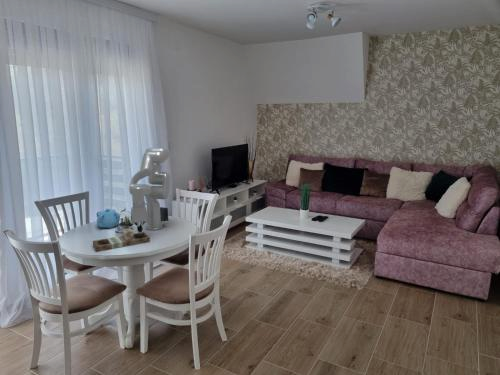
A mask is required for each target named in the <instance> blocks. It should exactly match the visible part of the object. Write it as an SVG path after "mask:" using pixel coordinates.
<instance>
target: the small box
mask: <svg viewBox="0 0 500 375" xmlns="http://www.w3.org/2000/svg"><path fill="white" fill-rule="evenodd" d="M160 217H161V221H164V222H165V221H167V222H168V221H169V208H168V207H162V206H160Z"/></svg>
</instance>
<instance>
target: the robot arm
mask: <svg viewBox="0 0 500 375" xmlns="http://www.w3.org/2000/svg"><path fill="white" fill-rule="evenodd" d="M169 156H170V151H169V149H168V148H166V147H149V148H146V149H145V152H143V155H142V160H141V163H140V164H141V165H140V169H139V171H137V172H136V173H135V174H134V175H133V176H132V177H131V179H130V184H129V187H128V188H129V190H128V191H129V194H130V195H131V198H132V207H131V209H130V210H131V211H130V221H131V223H130V224H131V225H136V229H137V233H142V232H143V230H144V229H143V226H144V225H145V224H147V225H146V226H145V229H146V230H147V231H148V230H149V231H157V230H161V229H164V225H167V224H168V221H165V222H164V221H161V217H160V207H161V204H160V202H159V200H167V199H168V198H169V196H170V188H171V175H170V173H169V172H167V171H162V165H161V164H163V163H165V162H166V161H167V160H168V159H169ZM146 177H148V178H147V180H148V184H142V183H138V182H139V181H140V180H142V179H144V178H146ZM149 184H150V185H149Z"/></svg>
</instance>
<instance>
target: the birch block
mask: <svg viewBox="0 0 500 375" xmlns="http://www.w3.org/2000/svg"><path fill="white" fill-rule="evenodd" d="M122 232H123V233H122V236H124V238H125V240H128V239H134V236H133V234H134V230H133V229H132V228H128V229H122Z"/></svg>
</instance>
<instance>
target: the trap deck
mask: <svg viewBox="0 0 500 375" xmlns="http://www.w3.org/2000/svg"><path fill="white" fill-rule="evenodd" d="M133 236H134V239H128V240H125V238H124V236H123V235H119V236H114V237H113V236H112V237H108V238H107V237H106V238H102V239H97V240H92V246H93V247H94V250H95V251H96V252H103V251H108V250H114V249H119V248H123V247H130V246H134V245H141V244H145V243H150V242H151V238H150V236H149V235H148V234H146V232H145V231H142V232H140V233H139V232H137V233H133Z"/></svg>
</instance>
